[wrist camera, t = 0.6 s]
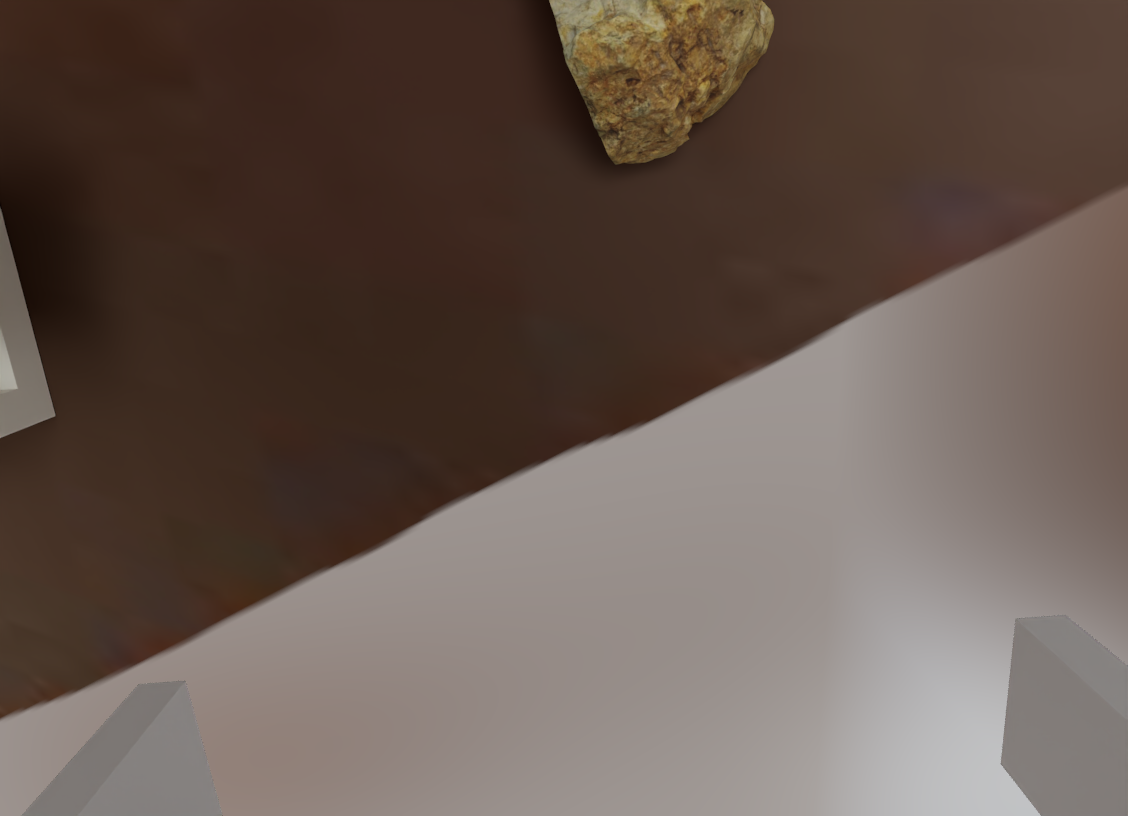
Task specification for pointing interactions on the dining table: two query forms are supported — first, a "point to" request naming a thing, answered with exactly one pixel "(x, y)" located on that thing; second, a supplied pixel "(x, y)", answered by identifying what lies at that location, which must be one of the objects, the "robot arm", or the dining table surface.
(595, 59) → the rock
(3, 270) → the frame
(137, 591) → the dining table surface
